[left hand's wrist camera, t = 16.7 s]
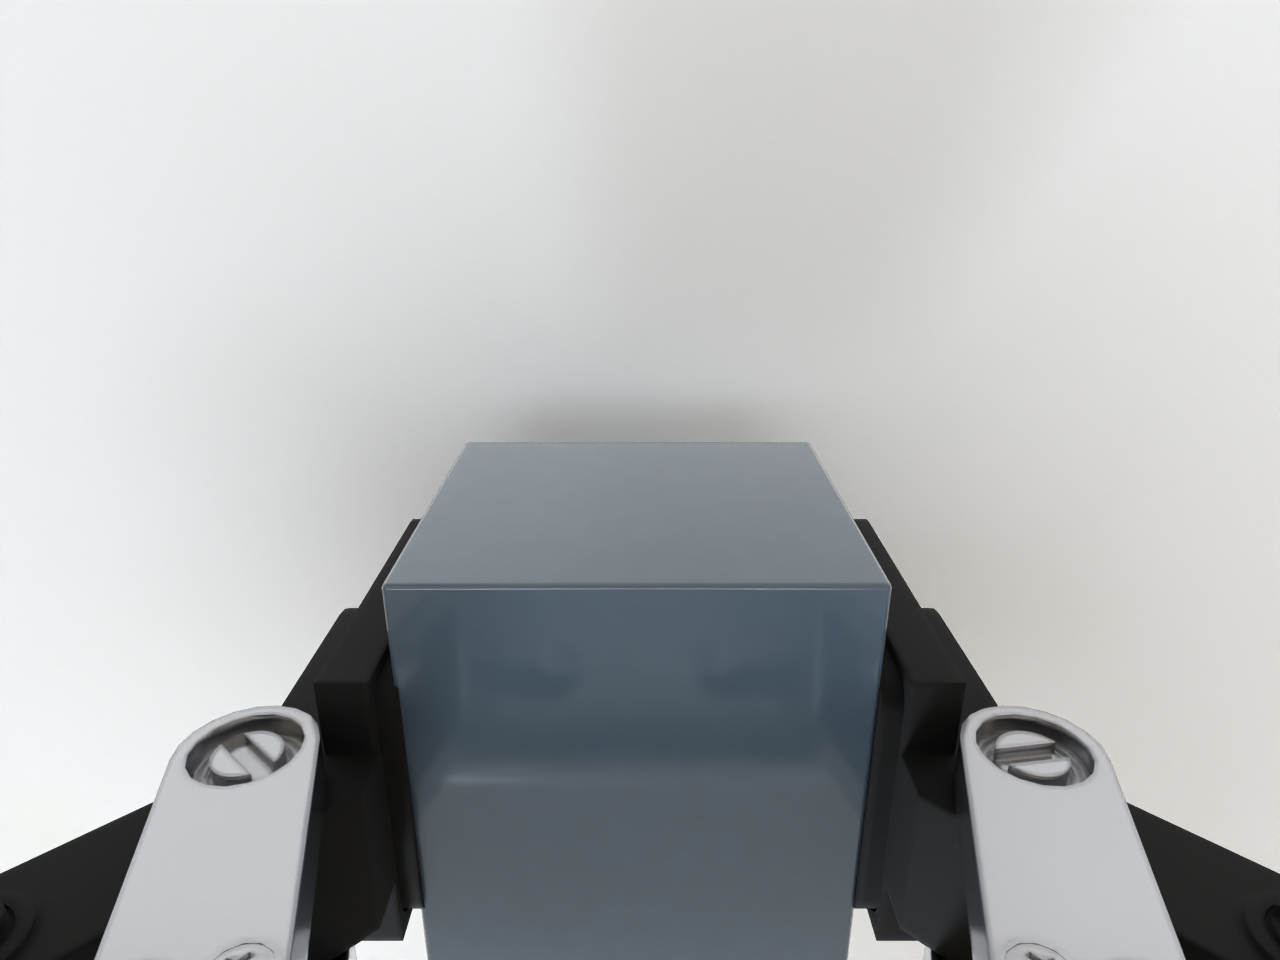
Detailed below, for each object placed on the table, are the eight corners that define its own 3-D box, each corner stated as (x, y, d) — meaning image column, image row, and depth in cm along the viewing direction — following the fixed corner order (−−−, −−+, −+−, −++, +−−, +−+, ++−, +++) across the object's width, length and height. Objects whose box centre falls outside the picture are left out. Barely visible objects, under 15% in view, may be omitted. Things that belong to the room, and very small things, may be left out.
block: (464, 441, 12) (379, 585, 8) (810, 441, 12) (894, 585, 8) (488, 740, 13) (427, 978, 9) (787, 740, 13) (846, 977, 9)
